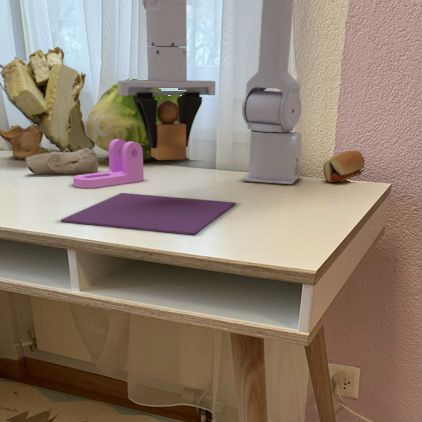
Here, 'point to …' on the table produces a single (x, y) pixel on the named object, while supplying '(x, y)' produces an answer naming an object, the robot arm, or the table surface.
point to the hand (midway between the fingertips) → (168, 146)
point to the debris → (49, 97)
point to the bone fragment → (63, 162)
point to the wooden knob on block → (169, 133)
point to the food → (343, 166)
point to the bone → (24, 141)
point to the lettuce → (121, 120)
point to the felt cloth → (152, 213)
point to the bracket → (116, 167)
